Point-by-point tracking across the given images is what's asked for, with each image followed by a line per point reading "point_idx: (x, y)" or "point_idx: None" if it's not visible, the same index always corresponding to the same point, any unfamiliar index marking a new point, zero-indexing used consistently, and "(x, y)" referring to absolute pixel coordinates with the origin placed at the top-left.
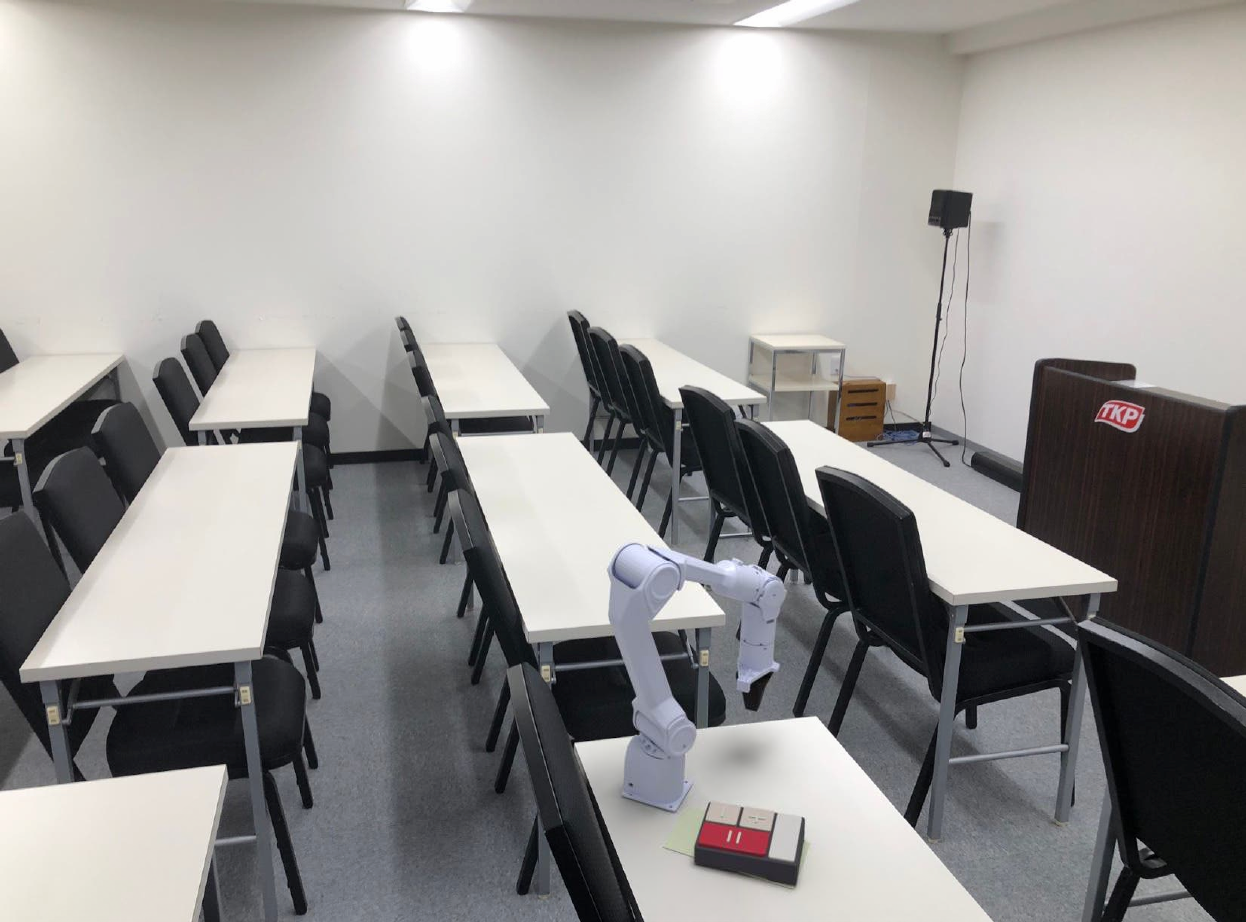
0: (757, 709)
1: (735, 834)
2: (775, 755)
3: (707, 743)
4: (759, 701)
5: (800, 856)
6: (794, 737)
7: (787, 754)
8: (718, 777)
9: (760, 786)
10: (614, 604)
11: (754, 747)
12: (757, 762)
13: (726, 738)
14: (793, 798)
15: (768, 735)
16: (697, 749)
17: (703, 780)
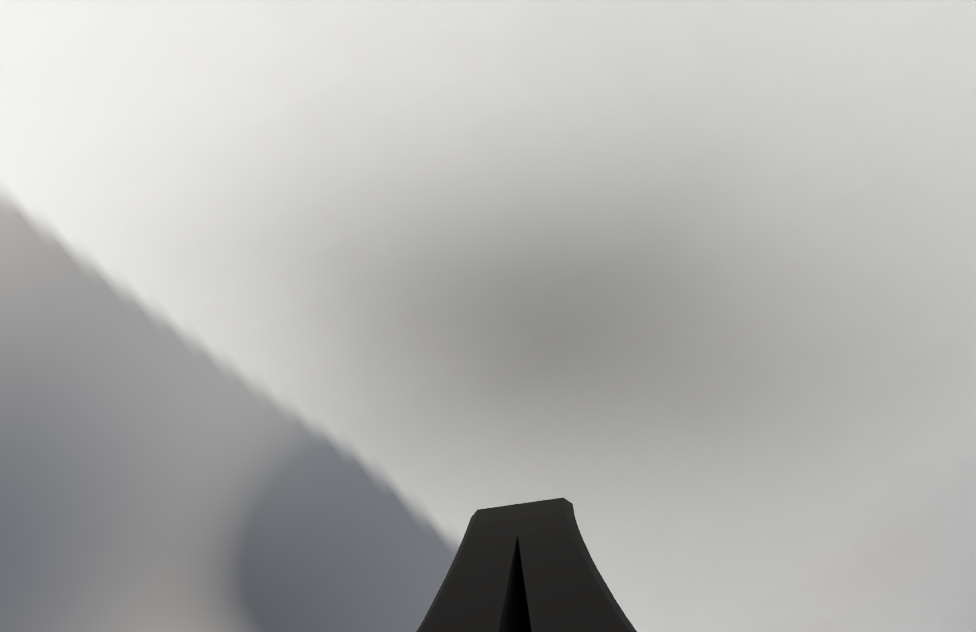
0: (565, 510)
1: None
2: (393, 132)
3: None
4: (602, 584)
5: None
6: (71, 112)
7: (318, 57)
8: (878, 344)
9: (837, 50)
10: None
11: (404, 302)
12: (561, 205)
13: (433, 489)
14: None
15: (199, 286)
16: (656, 569)
17: (956, 405)
